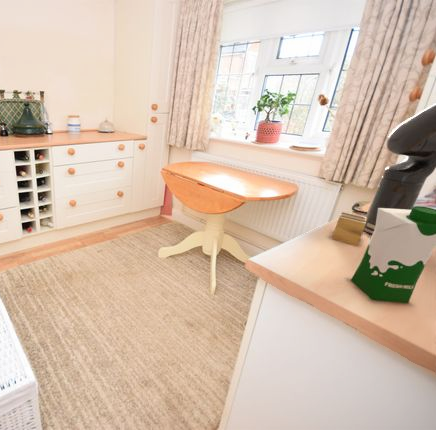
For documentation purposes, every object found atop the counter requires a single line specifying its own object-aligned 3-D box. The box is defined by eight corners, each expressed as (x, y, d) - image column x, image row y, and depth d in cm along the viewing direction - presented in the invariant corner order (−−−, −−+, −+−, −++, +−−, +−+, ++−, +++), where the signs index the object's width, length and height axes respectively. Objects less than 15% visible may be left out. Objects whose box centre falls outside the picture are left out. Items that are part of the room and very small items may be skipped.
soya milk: (370, 303, 60) (412, 213, 52) (343, 277, 68) (375, 196, 60) (417, 307, 59) (466, 216, 51) (383, 280, 67) (421, 199, 59)
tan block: (334, 232, 90) (342, 211, 88) (359, 239, 87) (368, 217, 84) (331, 238, 86) (339, 216, 84) (357, 246, 83) (366, 223, 80)
